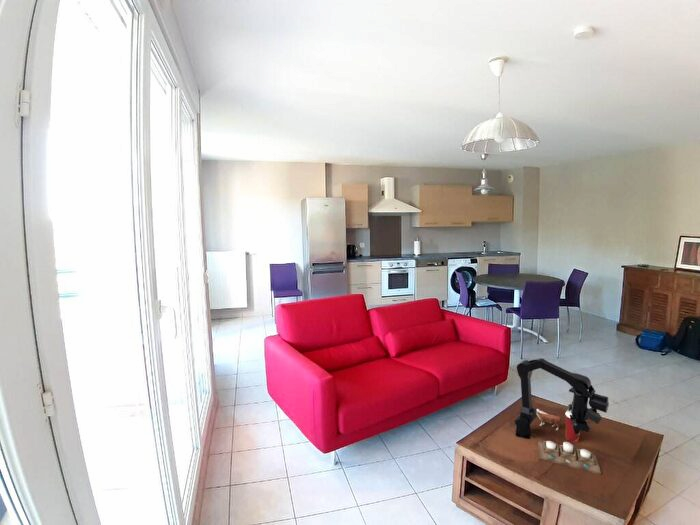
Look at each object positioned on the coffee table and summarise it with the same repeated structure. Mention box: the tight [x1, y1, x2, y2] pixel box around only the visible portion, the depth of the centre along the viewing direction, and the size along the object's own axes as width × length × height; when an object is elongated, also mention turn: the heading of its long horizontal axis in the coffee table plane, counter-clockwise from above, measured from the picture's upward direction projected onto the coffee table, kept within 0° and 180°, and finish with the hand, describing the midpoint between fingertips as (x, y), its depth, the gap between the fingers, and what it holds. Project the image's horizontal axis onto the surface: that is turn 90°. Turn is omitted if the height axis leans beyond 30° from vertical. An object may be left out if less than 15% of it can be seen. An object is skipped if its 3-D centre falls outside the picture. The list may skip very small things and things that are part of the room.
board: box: [537, 440, 602, 476], centre depth 163 cm, size 24×12×4 cm, turn 64°
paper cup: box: [564, 409, 581, 443], centre depth 177 cm, size 8×8×14 cm
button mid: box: [562, 441, 574, 454], centre depth 164 cm, size 4×4×4 cm
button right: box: [580, 448, 591, 458], centre depth 161 cm, size 4×4×4 cm
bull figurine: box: [536, 408, 563, 431], centre depth 188 cm, size 4×13×8 cm, turn 54°
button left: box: [546, 440, 557, 450], centre depth 167 cm, size 4×4×4 cm
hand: (576, 433), depth 163 cm, fingers closed
